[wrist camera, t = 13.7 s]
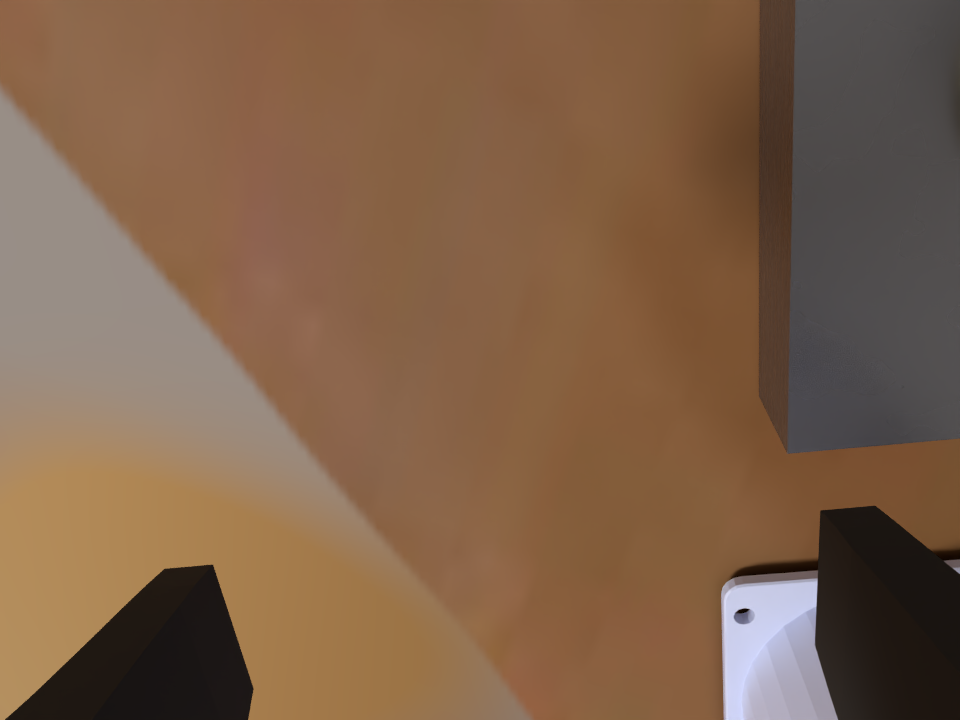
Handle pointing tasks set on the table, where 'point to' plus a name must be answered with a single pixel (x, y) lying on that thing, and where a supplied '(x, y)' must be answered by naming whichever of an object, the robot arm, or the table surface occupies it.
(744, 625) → the robot arm
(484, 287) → the table surface
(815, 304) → the block
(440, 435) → the table surface
